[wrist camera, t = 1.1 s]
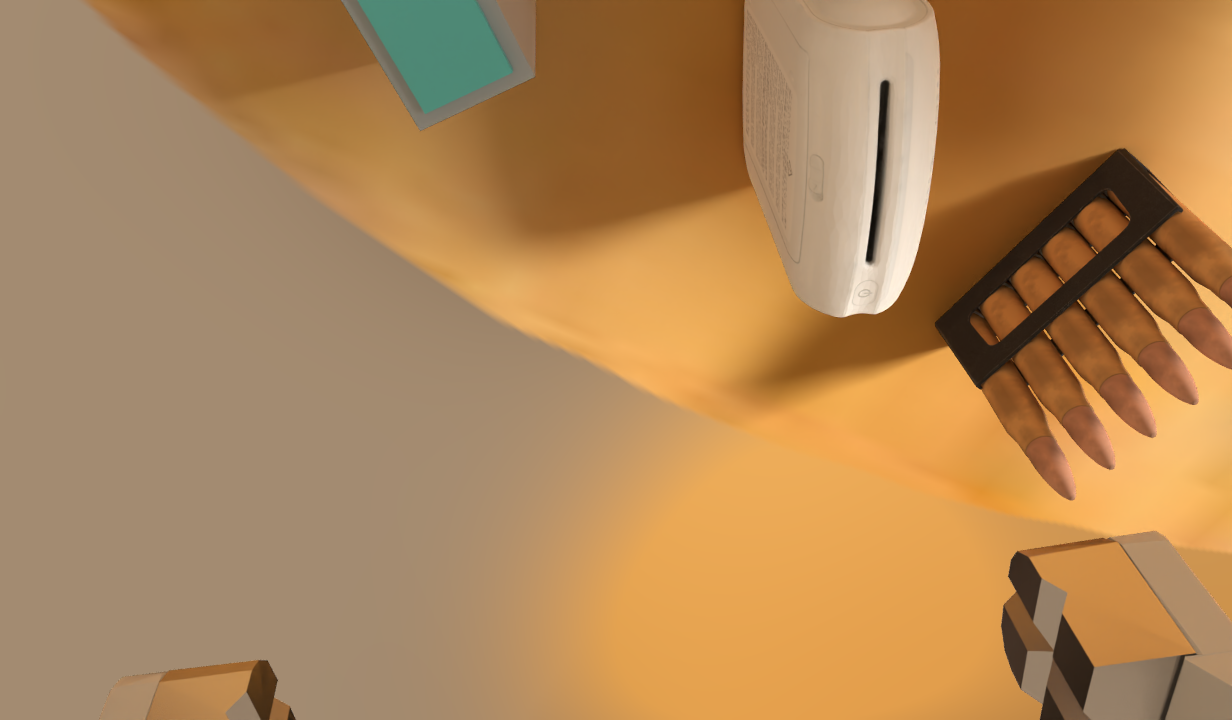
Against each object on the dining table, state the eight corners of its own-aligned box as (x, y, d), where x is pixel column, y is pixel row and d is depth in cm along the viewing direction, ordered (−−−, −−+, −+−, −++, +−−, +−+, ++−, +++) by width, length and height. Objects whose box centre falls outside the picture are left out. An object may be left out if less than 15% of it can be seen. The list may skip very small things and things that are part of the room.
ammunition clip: (1121, 145, 42) (1296, 298, 32) (1148, 169, 43) (1327, 326, 33) (933, 324, 47) (1036, 504, 37) (960, 342, 48) (1068, 525, 38)
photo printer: (839, 172, 42) (933, 340, 32) (736, 181, 42) (798, 351, 32) (859, -94, 36) (982, 9, 26) (739, -85, 36) (815, 22, 26)
